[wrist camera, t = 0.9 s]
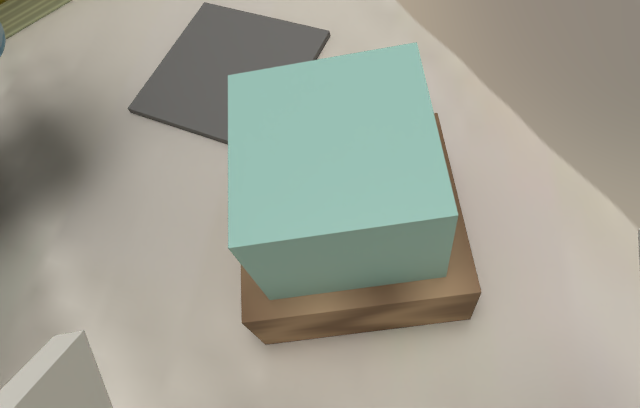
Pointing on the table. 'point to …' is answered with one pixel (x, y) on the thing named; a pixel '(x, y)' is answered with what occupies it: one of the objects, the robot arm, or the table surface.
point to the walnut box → (369, 299)
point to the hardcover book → (25, 13)
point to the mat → (220, 66)
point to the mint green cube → (337, 175)
